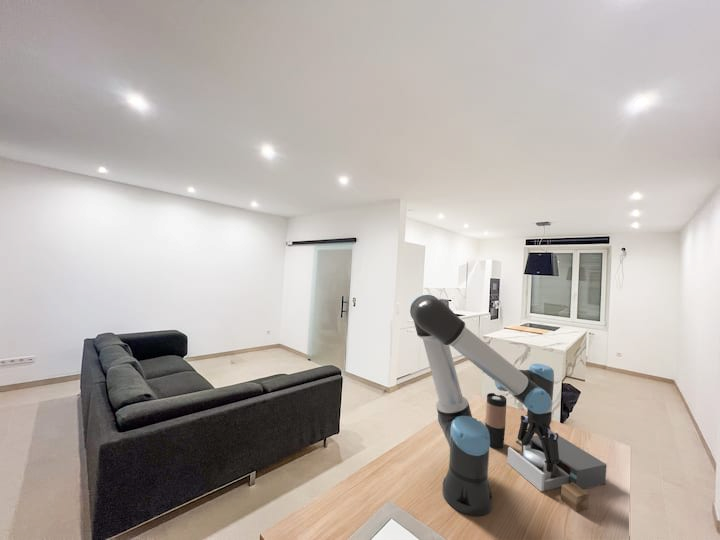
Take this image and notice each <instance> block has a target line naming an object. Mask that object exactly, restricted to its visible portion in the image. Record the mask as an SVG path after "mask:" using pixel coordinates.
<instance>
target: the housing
mask: <svg viewBox="0 0 720 540" xmlns="http://www.w3.org/2000/svg"><path fill="white" fill-rule="evenodd" d="M542 437H545V436H542ZM557 442H558V452H559V461H561V462H560V463H562V464H564V465H565V466H566V467H568V468H569V469H570V473H569V475H570V483H572V482H573V483H575V484H576V485H578V486H579V487H580V488H582V489H583V490H586V489H590V488H594V487H598V485H599V486H603V485H605V484H606V479H607V463H606V462H604V461H602V460H600V459H599V458H597V457H595V456H593V455H592V454H590V453H589V452H588V451H585V450H584V449H582V448H580V447H579V446H577V445H575V444H574V443H572V442H570V441H569V440H567V439H565V438H564V437H562V436H560V435H559V434H558V440H557ZM528 445H530V446H531V449H535V450H539V451H541V452H543V453H544V451H543V447H542V443H541V440H540V439H539V436H538V435H533V437H532V439H531V440H530V444H528Z"/></svg>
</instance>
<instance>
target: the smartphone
mask: <svg viewBox="0 0 720 540" xmlns="http://www.w3.org/2000/svg"><path fill="white" fill-rule="evenodd" d="M515 443H516V444H518V445H519V446H520V447H522V443H521V441H520V440H518V439H517V440H516V441H515ZM560 463H562V462H561V461H559V463H558V464H560Z"/></svg>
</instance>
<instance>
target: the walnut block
mask: <svg viewBox="0 0 720 540" xmlns="http://www.w3.org/2000/svg"><path fill="white" fill-rule="evenodd" d="M560 488H561V489H560V500H561V501H562V502H563V503H564V504H566V505H567V506H568V507H569V508H571V510H573V511H574V512H576V513H577V512H581V511H584V510H588V507H589V496H590V495H589V493H588V492H587V491H586V490H585V489H582V488H580V487H579V486H578V485H576V484H575V483H573V482H572V483H568V484H563V485H562V486H561V487H560Z"/></svg>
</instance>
